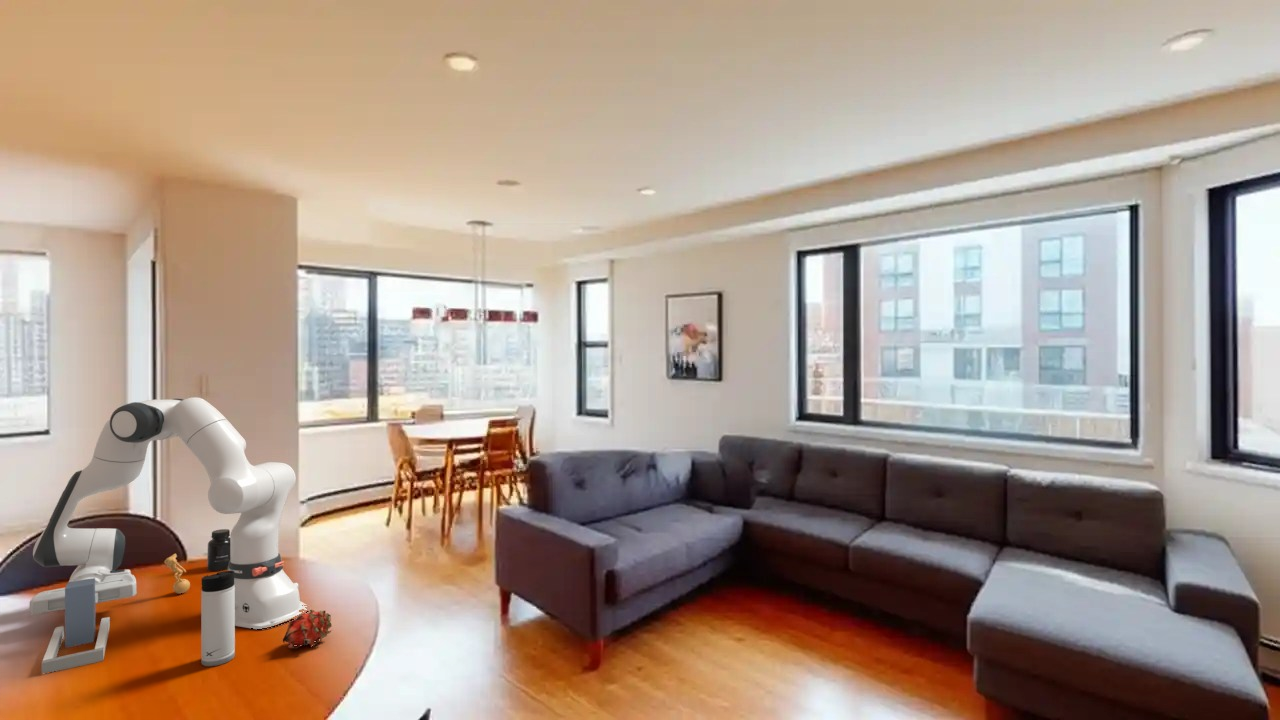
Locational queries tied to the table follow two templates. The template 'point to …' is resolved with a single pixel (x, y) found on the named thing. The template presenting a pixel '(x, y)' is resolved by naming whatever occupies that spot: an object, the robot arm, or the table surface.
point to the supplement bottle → (219, 550)
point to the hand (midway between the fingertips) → (82, 605)
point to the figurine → (180, 584)
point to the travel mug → (217, 618)
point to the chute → (77, 659)
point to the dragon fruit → (307, 628)
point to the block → (79, 612)
